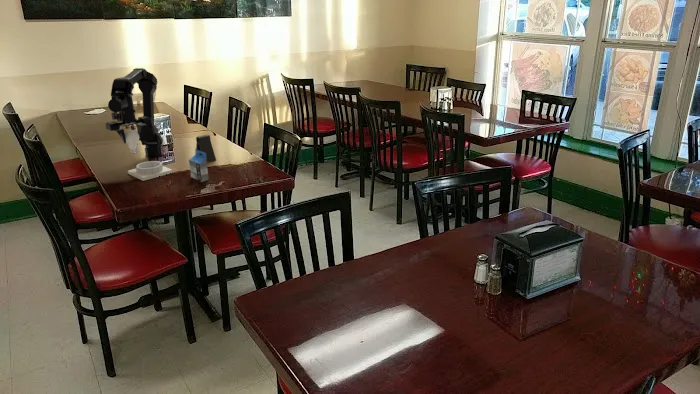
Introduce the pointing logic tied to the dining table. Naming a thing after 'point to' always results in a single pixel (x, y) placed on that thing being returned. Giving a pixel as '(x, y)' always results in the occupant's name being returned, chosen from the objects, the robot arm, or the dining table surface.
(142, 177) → the socket base
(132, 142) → the light bulb
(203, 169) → the retail box
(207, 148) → the phone stand
